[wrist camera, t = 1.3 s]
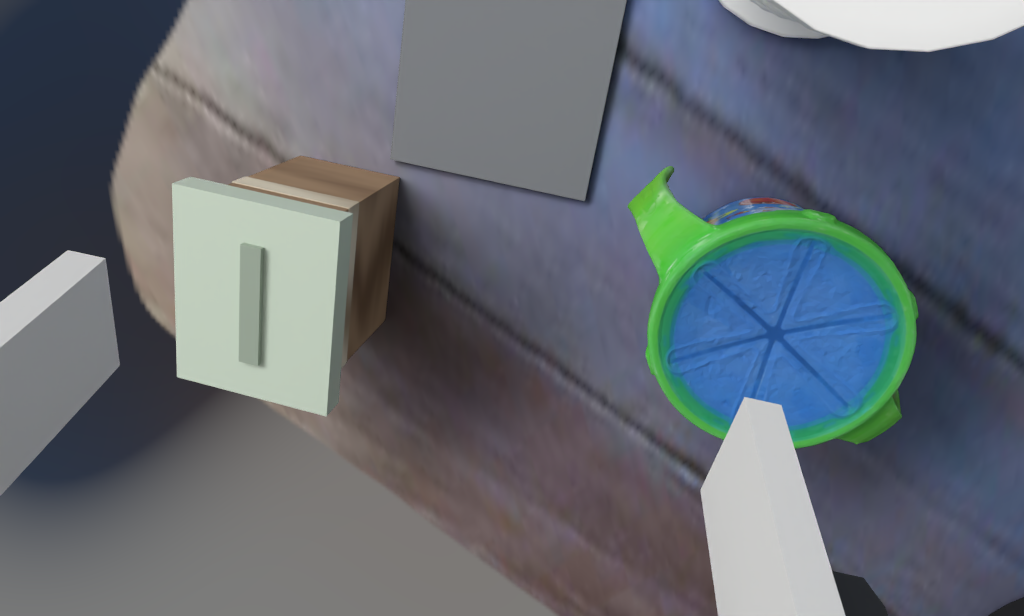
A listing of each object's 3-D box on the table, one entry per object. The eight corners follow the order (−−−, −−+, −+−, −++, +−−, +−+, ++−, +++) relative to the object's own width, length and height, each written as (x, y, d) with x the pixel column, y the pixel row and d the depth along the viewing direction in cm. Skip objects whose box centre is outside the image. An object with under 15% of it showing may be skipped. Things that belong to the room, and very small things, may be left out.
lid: (338, 402, 37) (323, 419, 36) (193, 364, 38) (173, 379, 37) (352, 213, 33) (337, 223, 32) (190, 176, 34) (167, 184, 33)
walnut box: (385, 320, 46) (321, 390, 37) (293, 298, 46) (210, 361, 38) (400, 176, 42) (332, 218, 34) (299, 154, 43) (209, 190, 34)
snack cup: (933, 314, 39) (1012, 412, 29) (760, 418, 43) (782, 532, 34) (748, 80, 36) (770, 107, 27) (584, 214, 41) (556, 277, 31)
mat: (585, 199, 40) (584, 201, 40) (392, 157, 42) (390, 159, 41) (641, -67, 35) (640, -68, 35) (418, -104, 36) (415, -105, 36)
